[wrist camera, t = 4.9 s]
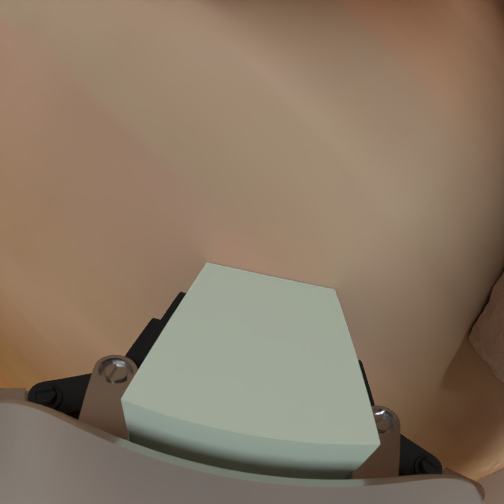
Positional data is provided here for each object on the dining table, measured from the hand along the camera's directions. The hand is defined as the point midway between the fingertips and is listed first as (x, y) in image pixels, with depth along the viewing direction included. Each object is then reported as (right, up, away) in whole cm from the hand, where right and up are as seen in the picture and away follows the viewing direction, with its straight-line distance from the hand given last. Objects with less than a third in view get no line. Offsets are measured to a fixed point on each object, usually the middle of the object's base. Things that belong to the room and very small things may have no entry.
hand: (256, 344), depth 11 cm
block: (0, 0, +1) cm, 1 cm away
